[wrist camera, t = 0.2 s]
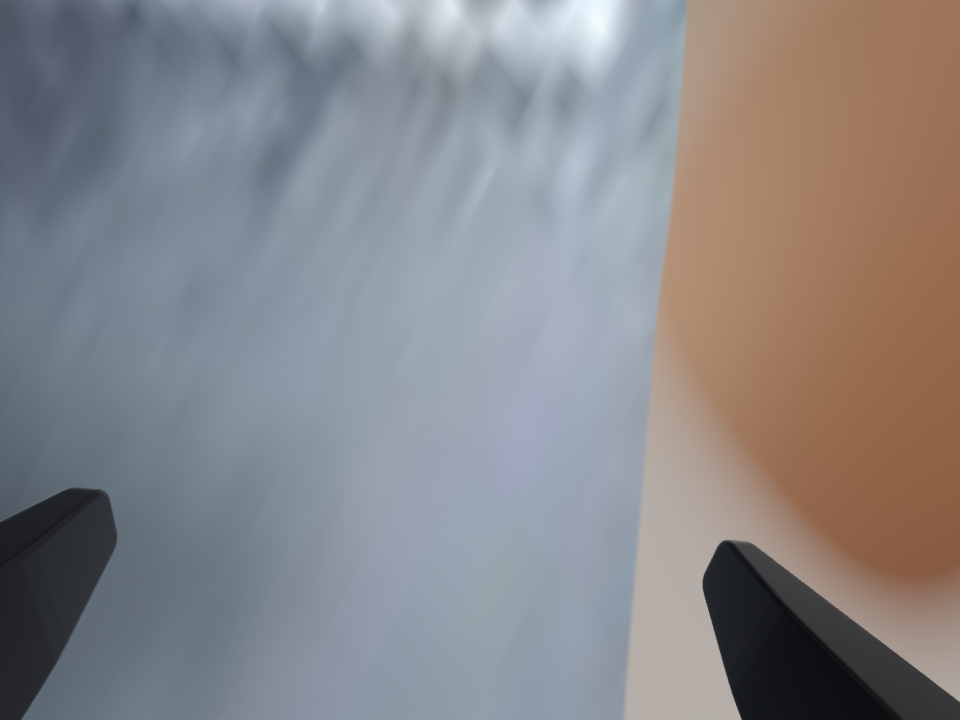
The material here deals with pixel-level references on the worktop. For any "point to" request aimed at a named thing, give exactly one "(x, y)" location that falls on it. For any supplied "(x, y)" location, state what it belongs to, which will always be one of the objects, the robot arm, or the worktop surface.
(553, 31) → the worktop surface
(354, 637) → the worktop surface
